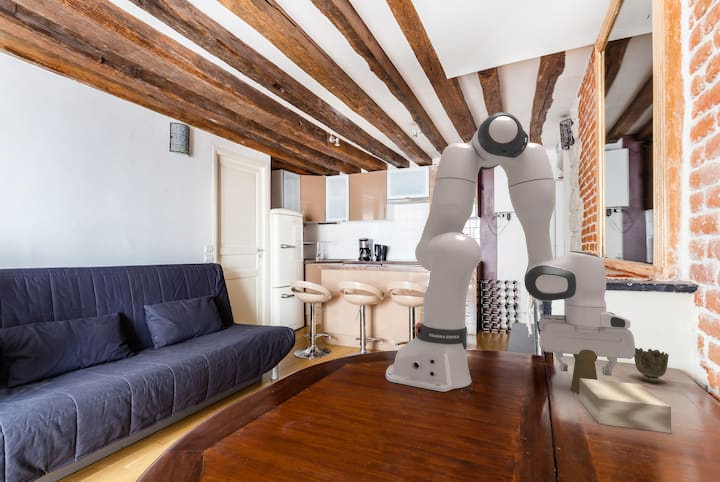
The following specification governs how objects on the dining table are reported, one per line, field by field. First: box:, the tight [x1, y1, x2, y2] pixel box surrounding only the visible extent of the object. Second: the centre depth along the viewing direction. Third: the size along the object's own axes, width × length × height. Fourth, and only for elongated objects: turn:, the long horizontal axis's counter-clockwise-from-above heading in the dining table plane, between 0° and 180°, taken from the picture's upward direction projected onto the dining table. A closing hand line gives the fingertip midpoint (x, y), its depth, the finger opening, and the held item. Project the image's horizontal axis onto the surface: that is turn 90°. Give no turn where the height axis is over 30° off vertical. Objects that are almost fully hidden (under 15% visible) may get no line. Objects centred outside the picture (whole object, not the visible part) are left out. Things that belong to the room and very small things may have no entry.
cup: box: [633, 347, 670, 384], centre depth 95 cm, size 8×7×8 cm
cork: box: [570, 350, 599, 395], centre depth 87 cm, size 6×6×11 cm
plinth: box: [578, 378, 672, 434], centre depth 75 cm, size 12×12×5 cm
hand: (584, 372), depth 87 cm, fingers open, 8 cm apart
